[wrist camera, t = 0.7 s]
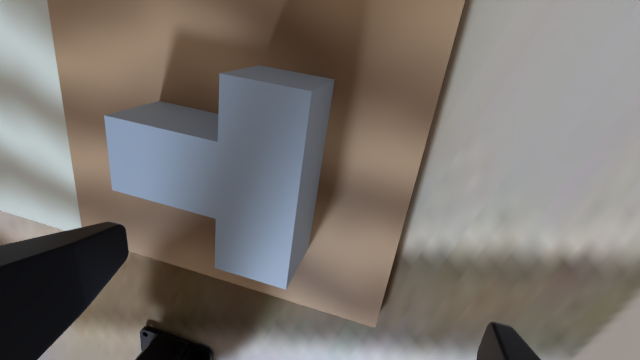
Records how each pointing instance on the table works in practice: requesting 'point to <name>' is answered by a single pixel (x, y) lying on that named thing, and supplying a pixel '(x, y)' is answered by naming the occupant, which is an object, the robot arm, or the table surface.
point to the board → (203, 94)
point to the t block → (234, 165)
